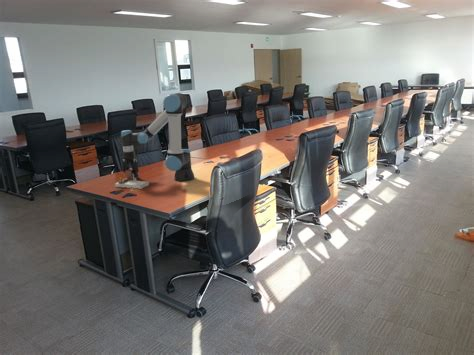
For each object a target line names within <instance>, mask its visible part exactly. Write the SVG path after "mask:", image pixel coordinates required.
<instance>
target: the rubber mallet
mask: <svg viewBox="0 0 474 355" xmlns="http://www.w3.org/2000/svg"><path fill="white" fill-rule="evenodd" d="M141 146H142V145H141V143H133V149H134V150H133V151H134V159H136V157H137V156H136V152H135V150H138V149H140V148H141ZM136 160H137V159H136ZM136 174H137V179H138V178H139V176H140V175H139V172H137V173H136Z"/></svg>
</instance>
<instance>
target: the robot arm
mask: <svg viewBox="0 0 474 355" xmlns="http://www.w3.org/2000/svg"><path fill="white" fill-rule="evenodd" d="M187 99H188V98H187V97H186V95H185V94H183V93H181V92H176V93H169V94H168V95H166V96H165V97H164V98H163V102H162V104H163V107H164V110H163V111H162V112H161V113H160V114H159V116H158V117H156V118H155V120H154V121H152V123H151V124H150V125H148V127H146V129H145V130H142V131H140V132H135V133H134V132H133V131H132V130H131V129H126V130H122V131H120V136H121V137H120V138H121V144H122V150H123V158H122V159H121V160H120V161H121V164H122V172H123V173H124V174H126V172H125V170H127V169H130V168H132V170H133V181H138V179H137V180H136V177H137V174H136V173H137V172H138V173H139V165H138V159H134V151H133V150H134V149H133V143H141V144H147V143H148V142H149V141H151V140H153V139H154V137H155V136H156V134H157V133H158V132H160V130H161V129H162V128H163V127H165V125H166V124H167V123H168V148H169V149H168V150H167V151H166V154H167V156H166V158H165V161H164V163H165V165H164V166H165V167H166V168H167V169H168V170H169V171H172V172H175V173H174V181H175V182H189V181H192V180H194V179H195V174H194V171H193V169H192V162H191V161H192V160H191V157H192V156H191V150H190V149H189V148H182V119H181V118H182V115H183V114H184V110H183V109H185V108H186V106H187V104H188V100H187ZM130 166H131V167H130Z"/></svg>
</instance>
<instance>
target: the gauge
mask: <svg viewBox="0 0 474 355" xmlns="http://www.w3.org/2000/svg"><path fill="white" fill-rule="evenodd" d="M125 172H126V173H125ZM125 172H124V173H125V177H126V178H123V177H120V178H119V179H120V180H118V181H117V182H118V183H119V184H122V183H124V182H126V181H129V180H133V170H132V167H129V169H127V170H125ZM136 180H137V181H138V178H137V177H136Z"/></svg>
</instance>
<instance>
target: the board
mask: <svg viewBox="0 0 474 355" xmlns="http://www.w3.org/2000/svg"><path fill="white" fill-rule="evenodd" d="M114 184H115V187H116V188H125V187H126V188H127V189H137V188H138V189H137V190H139V189H140V190H142V189H143V188H146V187H148V186H149V181H145V180H143V181H142V180H137V181H133V180H129V181H126V182H124V183H122V184H119V183H118V181H117V182H115V183H114ZM131 187H132V188H131Z"/></svg>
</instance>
